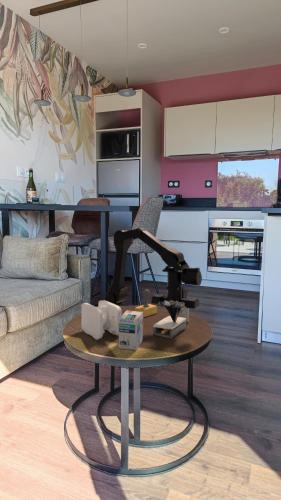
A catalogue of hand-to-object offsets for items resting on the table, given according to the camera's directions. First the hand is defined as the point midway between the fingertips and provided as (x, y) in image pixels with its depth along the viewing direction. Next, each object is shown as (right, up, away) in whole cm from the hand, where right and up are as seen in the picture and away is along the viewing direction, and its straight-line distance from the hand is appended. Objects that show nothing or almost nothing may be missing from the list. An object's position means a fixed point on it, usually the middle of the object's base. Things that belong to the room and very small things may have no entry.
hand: (174, 322), depth 132 cm
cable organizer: (-29, -4, -3) cm, 29 cm away
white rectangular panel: (-2, -1, +1) cm, 2 cm away
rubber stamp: (-11, -2, +24) cm, 27 cm away
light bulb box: (-17, -5, -13) cm, 22 cm away
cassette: (+4, -3, +19) cm, 19 cm away
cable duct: (-2, -4, +1) cm, 5 cm away
